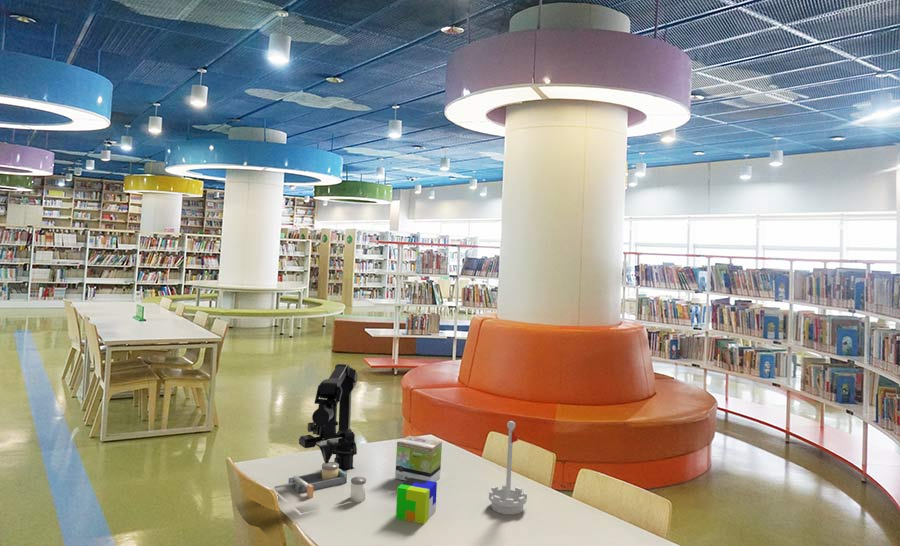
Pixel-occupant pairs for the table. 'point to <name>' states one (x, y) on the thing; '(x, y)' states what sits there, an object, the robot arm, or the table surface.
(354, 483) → the white jar
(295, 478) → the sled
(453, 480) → the table surface
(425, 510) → the puzzle toy
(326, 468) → the ochre jar
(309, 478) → the grey flat frame
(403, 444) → the tea box
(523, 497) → the flag stand
